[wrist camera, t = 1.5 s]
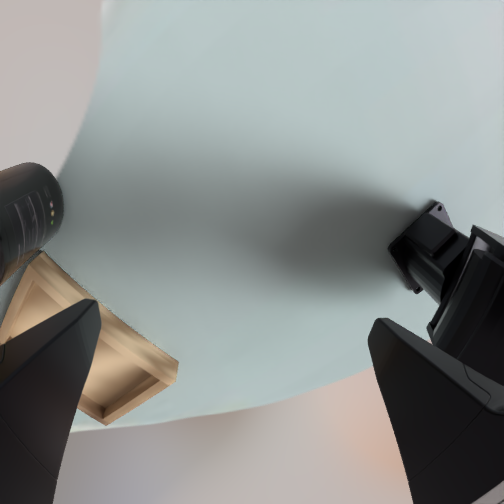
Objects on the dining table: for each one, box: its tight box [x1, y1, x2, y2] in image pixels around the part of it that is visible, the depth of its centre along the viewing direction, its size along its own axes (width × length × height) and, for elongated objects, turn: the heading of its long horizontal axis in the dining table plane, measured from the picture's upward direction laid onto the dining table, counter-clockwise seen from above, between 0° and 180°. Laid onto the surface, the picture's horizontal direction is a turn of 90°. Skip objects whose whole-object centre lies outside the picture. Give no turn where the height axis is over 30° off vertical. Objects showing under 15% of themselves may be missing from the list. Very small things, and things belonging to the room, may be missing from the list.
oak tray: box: [0, 251, 179, 426], centre depth 24 cm, size 16×14×2 cm
